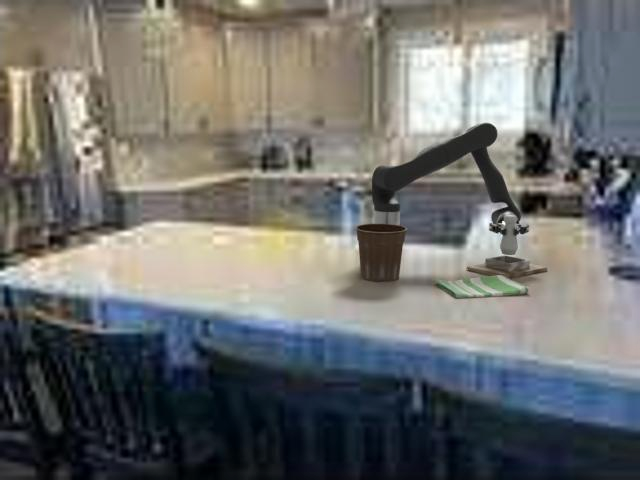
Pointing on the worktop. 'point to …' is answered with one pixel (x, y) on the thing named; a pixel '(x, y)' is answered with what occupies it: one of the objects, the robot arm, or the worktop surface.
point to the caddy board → (507, 267)
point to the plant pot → (380, 251)
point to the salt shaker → (509, 236)
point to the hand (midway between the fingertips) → (510, 232)
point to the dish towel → (482, 287)
